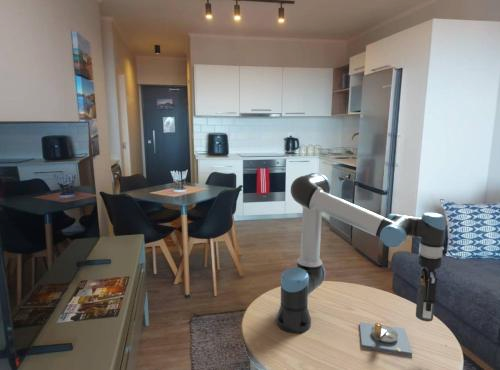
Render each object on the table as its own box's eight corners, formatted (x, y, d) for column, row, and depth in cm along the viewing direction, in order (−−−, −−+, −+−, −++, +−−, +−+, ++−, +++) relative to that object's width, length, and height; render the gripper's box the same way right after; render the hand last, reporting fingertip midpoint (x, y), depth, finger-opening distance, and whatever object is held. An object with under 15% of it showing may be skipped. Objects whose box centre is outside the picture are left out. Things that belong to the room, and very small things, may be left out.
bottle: (436, 320, 124) (440, 282, 122) (423, 322, 123) (427, 284, 120) (424, 312, 130) (427, 276, 127) (412, 314, 128) (415, 278, 126)
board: (361, 348, 129) (361, 345, 129) (359, 324, 145) (359, 321, 145) (412, 357, 125) (412, 353, 124) (404, 331, 140) (404, 327, 140)
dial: (372, 343, 129) (373, 325, 128) (370, 326, 141) (371, 309, 139) (400, 348, 127) (401, 330, 126) (395, 330, 138) (396, 313, 137)
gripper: (449, 266, 112) (442, 328, 116) (434, 247, 130) (429, 302, 134) (425, 264, 114) (419, 325, 118) (413, 245, 132) (408, 299, 136)
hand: (424, 312), depth 126 cm, fingers closed on bottle, 6 cm apart
